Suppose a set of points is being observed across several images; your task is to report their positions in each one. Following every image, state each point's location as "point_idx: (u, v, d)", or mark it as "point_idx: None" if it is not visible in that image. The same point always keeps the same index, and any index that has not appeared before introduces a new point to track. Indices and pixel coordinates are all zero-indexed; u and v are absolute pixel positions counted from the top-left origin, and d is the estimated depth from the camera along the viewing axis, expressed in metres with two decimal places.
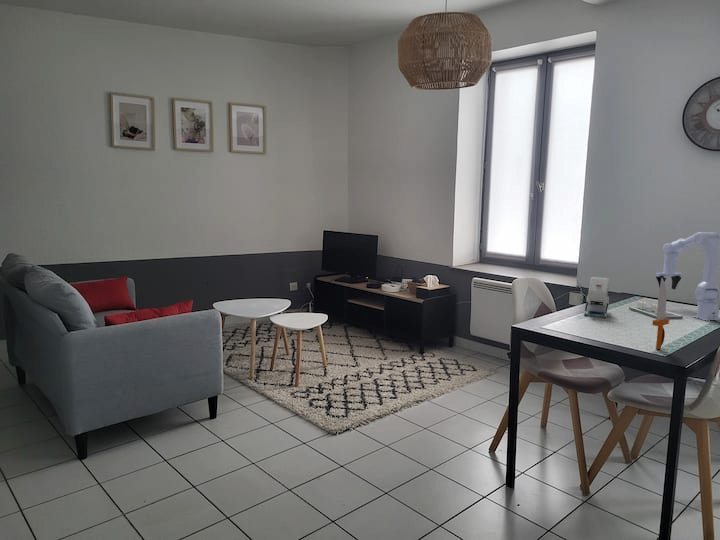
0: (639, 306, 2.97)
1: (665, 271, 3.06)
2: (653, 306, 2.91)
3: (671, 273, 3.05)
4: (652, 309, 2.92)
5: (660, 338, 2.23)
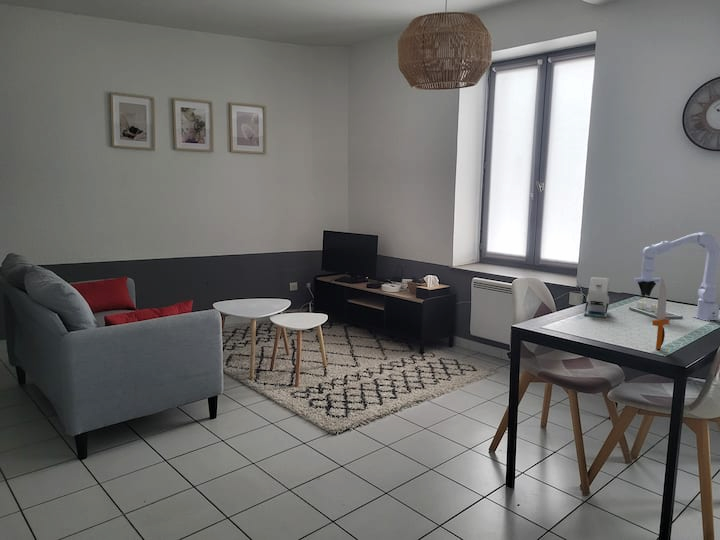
0: (639, 306, 2.97)
1: (643, 276, 2.87)
2: (653, 306, 2.91)
3: (649, 278, 2.85)
4: (652, 309, 2.92)
5: (660, 338, 2.23)
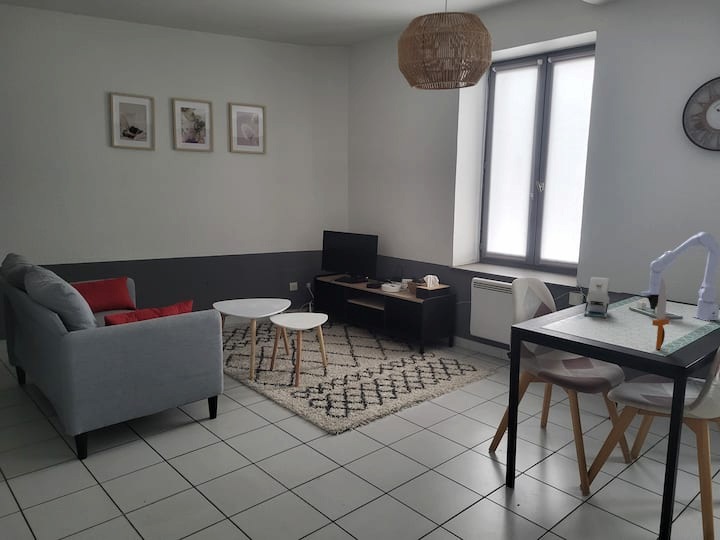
0: (639, 306, 2.97)
1: (650, 290, 2.89)
2: None
3: (657, 292, 2.87)
4: (654, 309, 2.92)
5: (660, 338, 2.23)
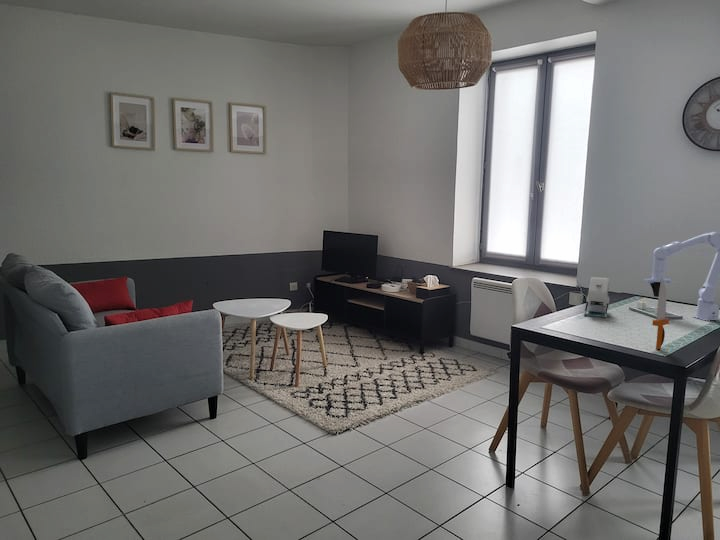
0: (639, 306, 2.97)
1: (653, 277, 2.88)
2: None
3: (660, 279, 2.86)
4: None
5: (660, 338, 2.23)
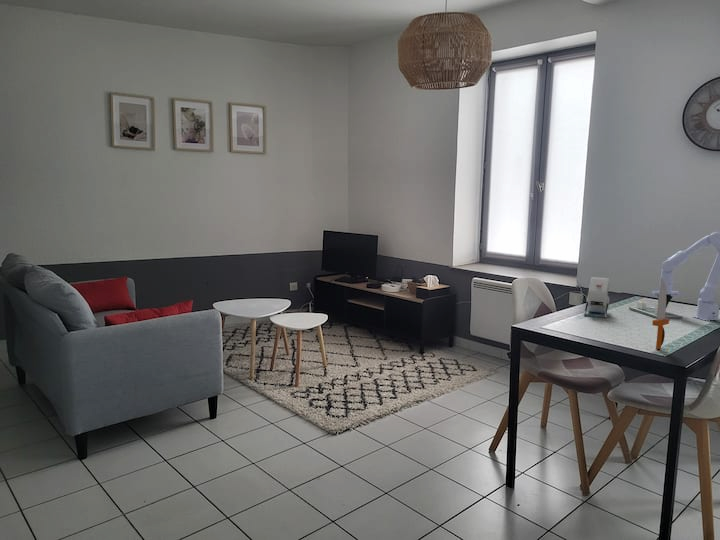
0: (639, 306, 2.97)
1: None
2: (657, 306, 2.91)
3: (667, 292, 2.88)
4: None
5: (660, 338, 2.23)
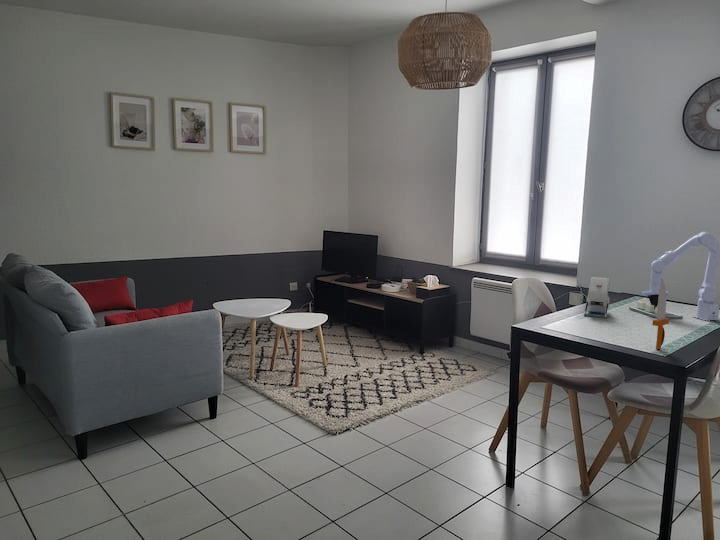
0: (639, 306, 2.97)
1: (651, 290, 2.89)
2: (647, 306, 2.90)
3: (657, 292, 2.87)
4: (646, 309, 2.91)
5: (660, 338, 2.23)
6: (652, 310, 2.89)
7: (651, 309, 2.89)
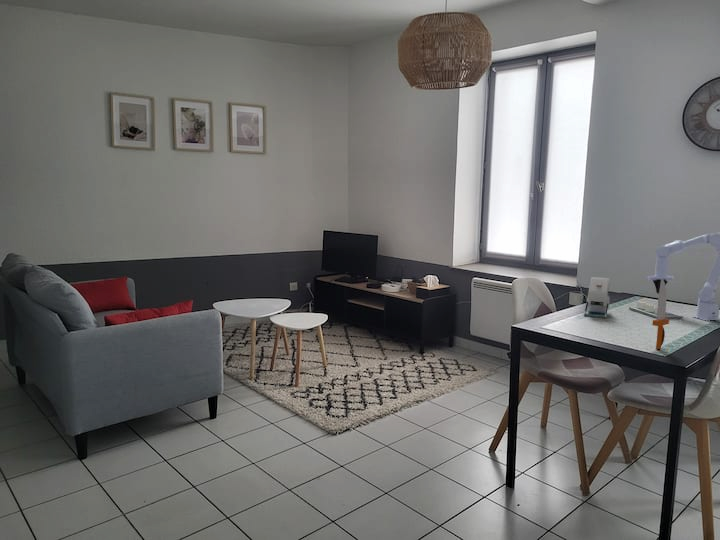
0: (639, 306, 2.97)
1: (656, 274, 2.94)
2: (647, 306, 2.90)
3: (663, 277, 2.92)
4: (646, 309, 2.91)
5: (660, 338, 2.23)
6: (652, 310, 2.89)
7: (651, 309, 2.89)
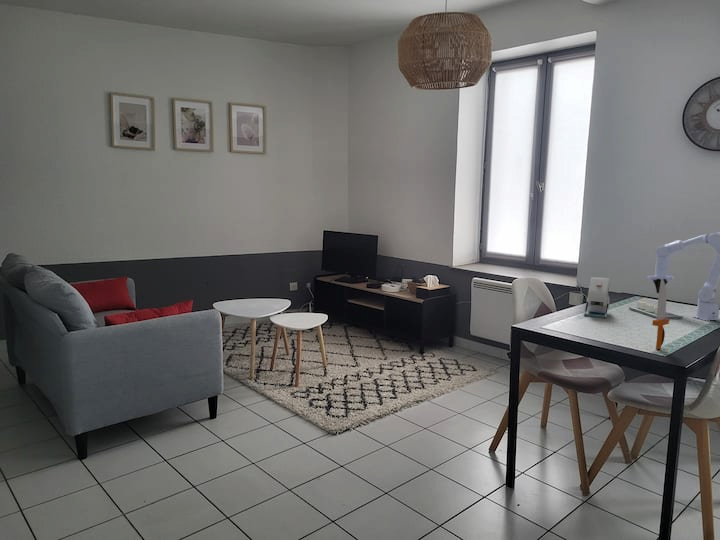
0: (639, 306, 2.97)
1: (656, 274, 2.95)
2: (647, 306, 2.90)
3: (663, 276, 2.93)
4: (646, 309, 2.91)
5: (660, 338, 2.23)
6: (652, 310, 2.89)
7: (651, 309, 2.89)
